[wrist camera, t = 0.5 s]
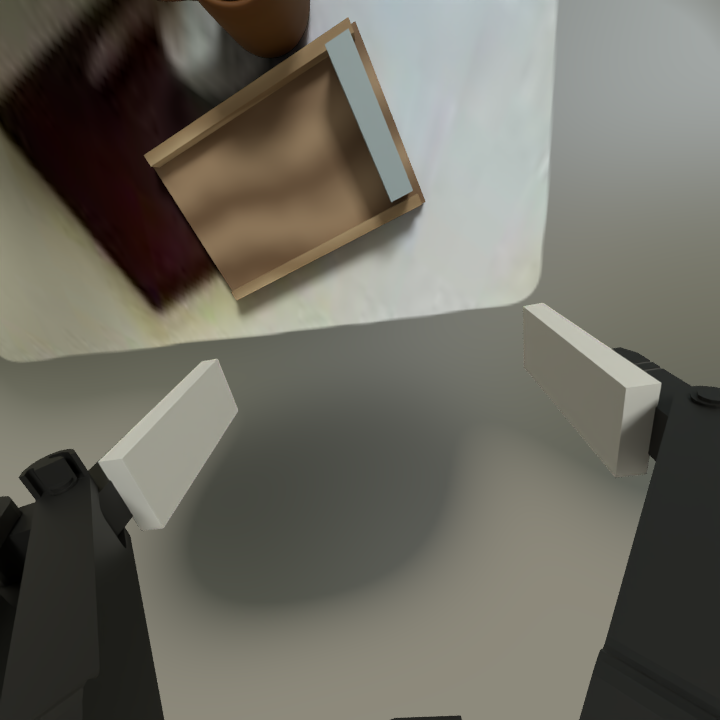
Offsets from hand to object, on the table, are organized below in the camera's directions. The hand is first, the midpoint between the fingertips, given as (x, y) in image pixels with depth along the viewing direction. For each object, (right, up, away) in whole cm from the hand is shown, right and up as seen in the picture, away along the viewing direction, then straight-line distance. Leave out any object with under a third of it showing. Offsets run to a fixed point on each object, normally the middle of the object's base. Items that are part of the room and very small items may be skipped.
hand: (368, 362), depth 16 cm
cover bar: (+1, +21, +17) cm, 27 cm away
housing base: (-7, +18, +20) cm, 28 cm away
